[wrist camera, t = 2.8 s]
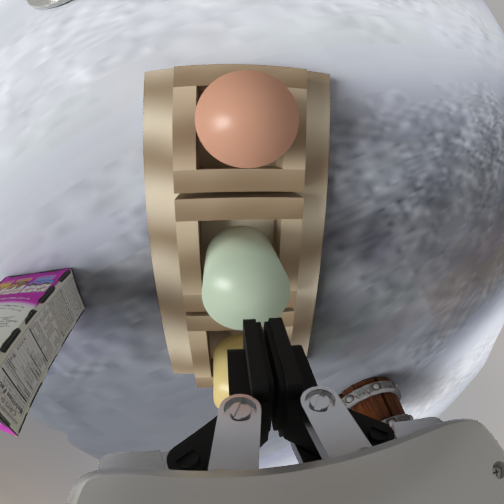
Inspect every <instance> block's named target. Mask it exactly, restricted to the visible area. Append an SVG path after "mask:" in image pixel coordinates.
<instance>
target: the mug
mask: <svg viewBox="0 0 504 504" xmlns="http://www.w3.org/2000/svg"><path fill="white" fill-rule="evenodd" d="M342 393H343V395H338V396H339V397H340V399H341V400H342V402H343V403H344V405H345V406H346V408H349V409H351V410H353V411H356V412H358V413H361V414H363V415H366V416H369V417H371V418H374V419H376V420H379V421H382V422H384V423H386V424H388V425H392V424H393V422H401V421H409V420H413V417H412V416H411V415H408V414H405V412H404V410H403V408H402V406H401V404H400V402H399V401H400V398H401V394H400V391H399V389H398V384H396V383H393V382H391V381H390V380H388V379H387V378H385V377H376V378H375V380H374V378H370V379H366V380H363V381H361V382H358V383H356V384H354V385H352V386H350V387H349V388H347V389H346V390H344V391H343V392H342Z"/></svg>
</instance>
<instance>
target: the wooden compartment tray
mask: <svg viewBox="0 0 504 504" xmlns="http://www.w3.org/2000/svg"><path fill="white" fill-rule="evenodd" d="M240 70H254V71H259V72H263V73H266V74H269V75H271V76H273V77H275V78H276V79H278V80H279V81H280V82H282V83H283V84H284V85H285V86H286V87H287V88H288V90H289V91H290V92H291V94H292V95H293V97H294V99H295V101H296V104H297V107H298V112H299V127H298V132H297V135H296V138H295V140H294V142H293V143H292V145H291V146H290V148H289V149H288V150H287V151H286V152H285V154H283V155H282V156H281V157H280V158H279V159H277V160H275V161H274V162H272V163H270V164H267V165H264V166H261V167H256V168H238V167H233V166H230V165H227V164H225V163H223V162H221V161H219V160H218V159H216V158H215V157H213V156H212V155H211V154H210V153H209V152H208V151H207V150H206V149H205V147H204V146H203V145H202V143H201V141H200V139H199V137H198V134H197V132H196V127H195V111H196V106H197V103H198V101H199V99H200V97H201V95H202V93H203V92H204V90H205V89H206V88H207V87H208V86H209V85H210V84H211V83H212V82H213V81H215V80H216V79H217V78H219V77H221V76H223V75H225V74H227V73H230V72H234V71H240ZM329 139H330V74H324V73H318V72H311V71H307V69H300V68H291V67H280V66H267V65H245V64H212V65H191V66H178V67H174V68H173V69H164V70H155V71H148V72H145V77H144V99H143V155H144V179H145V195H146V208H147V220H148V230H149V239H150V247H151V255H152V263H153V270H154V277H155V283H156V290H157V296H158V302H159V307H160V313H161V318H162V323H163V328H164V333H165V338H166V343H167V347H168V352H169V356H170V360H171V364H172V369H173V373H180V374H195V379H196V384H197V387H214V385H213V352H214V349H215V347H216V345H217V344H218V343H219V342H220V341H221V340H222V339H224V338H226V337H228V336H231V335H234V334H243V330H235V329H230V328H227V327H225V326H223V325H221V324H219V323H218V322H216V321H215V320H214V319H213V318H212V317H211V316H210V315H209V314H208V312H207V311H206V309H205V307H204V304H203V301H202V284H203V275H204V266H205V258H206V251H207V248H208V246H209V243H210V242H211V240H212V239H213V238H214V237H215V236H216V235H217V234H218V233H219V232H221V231H222V230H224V229H226V228H229V227H233V226H249V227H252V228H255V229H257V230H259V231H260V232H262V233H263V234H264V235H265V236H266V237H267V238H268V239H269V241H270V242H271V244H272V246H273V248H274V250H275V252H276V254H277V256H278V258H279V260H280V262H281V264H282V266H283V268H284V270H285V272H286V274H287V276H288V279H289V282H290V298H289V301H288V304H287V306H286V308H285V309H284V311H283V312H282V313H281V315H280V316H279V317H281V318H282V320H283V323H284V326H285V329H286V331H287V334H288V337H289V340H290V343H291V345H302V347H303V349H304V352H305V355H306V357H307V352H308V346H309V340H310V334H311V328H312V322H313V315H314V308H315V302H316V294H317V287H318V279H319V271H320V263H321V254H322V244H323V234H324V223H325V211H326V198H327V183H328V165H329ZM279 317H278V318H279ZM262 330H263V332H264V326H263V327H262Z"/></svg>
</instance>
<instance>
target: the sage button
mask: <svg viewBox="0 0 504 504" xmlns="http://www.w3.org/2000/svg"><path fill="white" fill-rule="evenodd" d="M289 298H290V282H289V279H288V276H287V274H286V272H285V270H284V268H283V266H282V264H281V262H280V260H279V258H278V256H277V254H276V252H275V250H274V248H273V246H272V244H271V242H270V241H269V239H268V238H267V237H266V236H265V235H264V234H263V233H262V232H260V231H259V230H257V229H255V228H252V227H249V226H233V227H229V228H226V229H224V230H222V231H221V232H219V233H218V234H217V235H216V236H215V237H214V238H213V239H212V240H211V242H210V243H209V246H208V248H207V251H206V258H205V266H204V275H203V284H202V301H203V304H204V307H205V309H206V311H207V312H208V314H209V315H210V316H211V317H212V318H213V319H214V320H215V321H216V322H218V323H219V324H221V325H223V326H225V327H227V328H230V329H235V330H243V319H256V322H261V326H262V327H263V326H264V322H266V321H268V319H269V318H278V317H279V316H280V315H281V313H282V312H283V311H284V309H285V308H286V306H287V304H288V301H289Z"/></svg>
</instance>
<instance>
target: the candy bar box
mask: <svg viewBox="0 0 504 504" xmlns="http://www.w3.org/2000/svg"><path fill="white" fill-rule="evenodd" d="M84 310H85V306H84V303H83V300H82V297H81V295H80V293H79V291H78V288H77V285H76V282H75V279H74V276H73V273H72V270H71V268H67V269H60V270H54V271H47V272H40V273H33V274H26V275H19V276H12V277H5V278H4V279H3V280H2V281H1V282H0V430H2V431H4V432H7V433H9V434H12V435H14V436H19V433H20V430H21V428H22V425H23V423H24V421H25V418H26V416H27V414H28V412H29V409H30V407H31V405H32V403H33V401H34V398H35V396H36V394H37V392H38V390H39V388H40V386H41V385H42V383H43V380H44V378H45V377H46V375H47V373H48V370H49V368H50V366H51V365H52V363H53V361H54V359H55V358H56V356H57V355H58V353H59V351H60V349H61V347H62V346H63V344H64V342H65V340H66V339H67V337H68V335H69V334H70V332H71V331H72V329H73V327H74V326H75V324H76V322H77V321H78V319H79V318H80V316H81V315H82V313H83V311H84Z"/></svg>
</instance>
